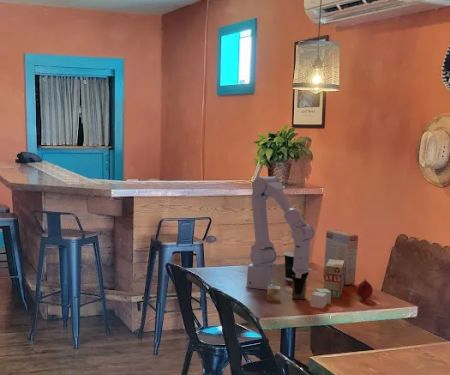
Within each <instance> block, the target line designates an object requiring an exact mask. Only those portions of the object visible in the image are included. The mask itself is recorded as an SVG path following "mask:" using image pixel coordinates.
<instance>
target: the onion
mask: <svg viewBox="0 0 450 375" xmlns="http://www.w3.org/2000/svg"><path fill="white" fill-rule="evenodd" d="M356 293H357V294H358V296H359V298H360V299H361V300H363V301H366V300H367V299H369V298H370V297H371V296H372V295H373V286H372V284H371V283H370V282H369V281H367V279H366V278H364V279H363V281H362V282H360V283H359V284H358V285H357V288H356Z"/></svg>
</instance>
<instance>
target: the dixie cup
mask: <svg viewBox="0 0 450 375" xmlns="http://www.w3.org/2000/svg"><path fill="white" fill-rule="evenodd" d="M283 255H284V271H285V272H284V274H285V280H286V281H289V282H293V280H292V275H294V271H293V270H292V269H293V262H294V251H286V252H284V253H283Z"/></svg>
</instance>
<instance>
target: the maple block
mask: <svg viewBox="0 0 450 375" xmlns="http://www.w3.org/2000/svg"><path fill="white" fill-rule="evenodd" d="M266 292H267V293H266V301H276V302H279V301H280V298H281V297H280V296H281V286H280V285H273V286H270V285H268V289H267V290H266Z"/></svg>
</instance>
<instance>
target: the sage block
mask: <svg viewBox="0 0 450 375" xmlns="http://www.w3.org/2000/svg"><path fill="white" fill-rule="evenodd" d="M314 292H320V293H326V294H327V301H326V305H331V303H332V302H331V299H332V297H331V292H330V291H329V290H328V289H324V288H315V291H314Z"/></svg>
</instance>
